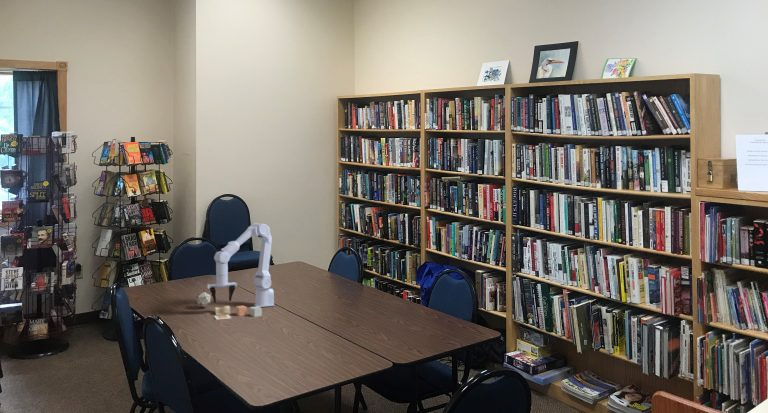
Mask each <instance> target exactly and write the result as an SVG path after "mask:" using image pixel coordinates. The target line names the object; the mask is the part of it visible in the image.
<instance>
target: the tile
mask: <svg viewBox="0 0 768 413" xmlns="http://www.w3.org/2000/svg"><path fill="white" fill-rule="evenodd" d="M213 317H214V318H215V320H216V321H217V320H227V319H228V320H229V319H232V316H230V314H220V315H214V316H213Z"/></svg>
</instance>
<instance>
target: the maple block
mask: <svg viewBox="0 0 768 413" xmlns="http://www.w3.org/2000/svg"><path fill="white" fill-rule="evenodd" d="M214 313H215V316H219V315H230V314H231V306H230V305H222V306H214Z"/></svg>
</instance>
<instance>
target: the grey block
mask: <svg viewBox="0 0 768 413" xmlns="http://www.w3.org/2000/svg"><path fill="white" fill-rule="evenodd" d="M262 309H263V308H262V307H257V306H255V305H254V306H250V307H249V316H252V317H254V318H256V317H261V316H263V310H262Z"/></svg>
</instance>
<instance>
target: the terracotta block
mask: <svg viewBox="0 0 768 413" xmlns="http://www.w3.org/2000/svg"><path fill="white" fill-rule="evenodd" d="M235 314H236V315H237V316H239V317H241V316H247V315H248V307H247V306H245V305H235Z"/></svg>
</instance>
